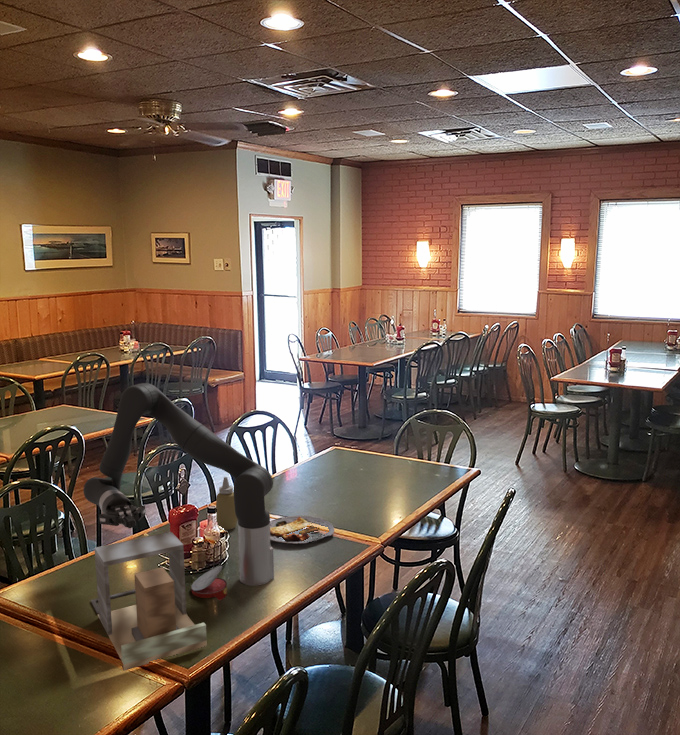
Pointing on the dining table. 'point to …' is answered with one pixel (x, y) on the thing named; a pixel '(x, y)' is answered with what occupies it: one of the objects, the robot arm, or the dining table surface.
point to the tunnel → (126, 618)
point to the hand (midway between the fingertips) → (131, 524)
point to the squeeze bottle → (226, 506)
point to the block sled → (154, 604)
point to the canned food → (210, 585)
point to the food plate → (296, 529)
